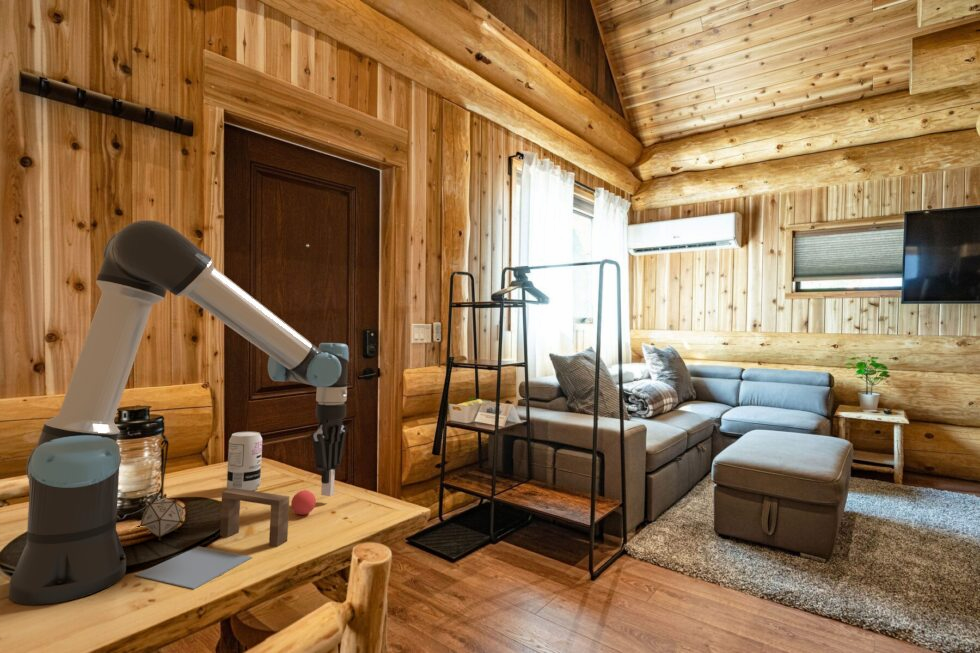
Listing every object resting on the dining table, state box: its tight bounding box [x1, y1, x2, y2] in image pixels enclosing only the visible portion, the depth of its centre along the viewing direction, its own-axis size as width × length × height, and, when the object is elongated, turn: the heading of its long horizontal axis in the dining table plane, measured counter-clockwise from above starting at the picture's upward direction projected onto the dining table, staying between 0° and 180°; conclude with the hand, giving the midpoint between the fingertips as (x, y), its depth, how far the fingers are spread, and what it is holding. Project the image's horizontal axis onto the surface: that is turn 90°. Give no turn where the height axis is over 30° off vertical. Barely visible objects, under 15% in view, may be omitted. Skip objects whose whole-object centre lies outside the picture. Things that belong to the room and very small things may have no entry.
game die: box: [136, 493, 188, 541], centre depth 105 cm, size 9×8×10 cm
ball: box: [290, 489, 317, 516], centre depth 121 cm, size 6×6×6 cm
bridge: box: [219, 488, 290, 547], centre depth 106 cm, size 3×14×9 cm, turn 73°
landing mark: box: [135, 545, 253, 590], centre depth 92 cm, size 13×13×1 cm
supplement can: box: [226, 431, 263, 491], centre depth 139 cm, size 8×8×15 cm
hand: (327, 494), depth 130 cm, fingers closed
